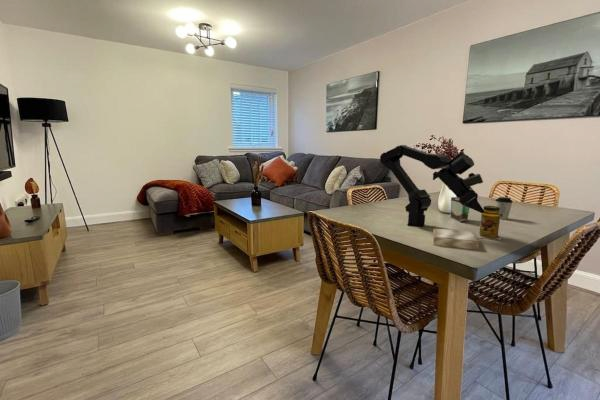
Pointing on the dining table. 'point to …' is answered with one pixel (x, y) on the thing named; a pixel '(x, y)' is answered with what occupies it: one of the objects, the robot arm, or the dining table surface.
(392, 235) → the dining table surface
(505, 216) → the coffee cup
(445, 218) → the dining table surface
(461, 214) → the food container
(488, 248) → the dining table surface
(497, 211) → the condiment
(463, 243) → the picture frame
